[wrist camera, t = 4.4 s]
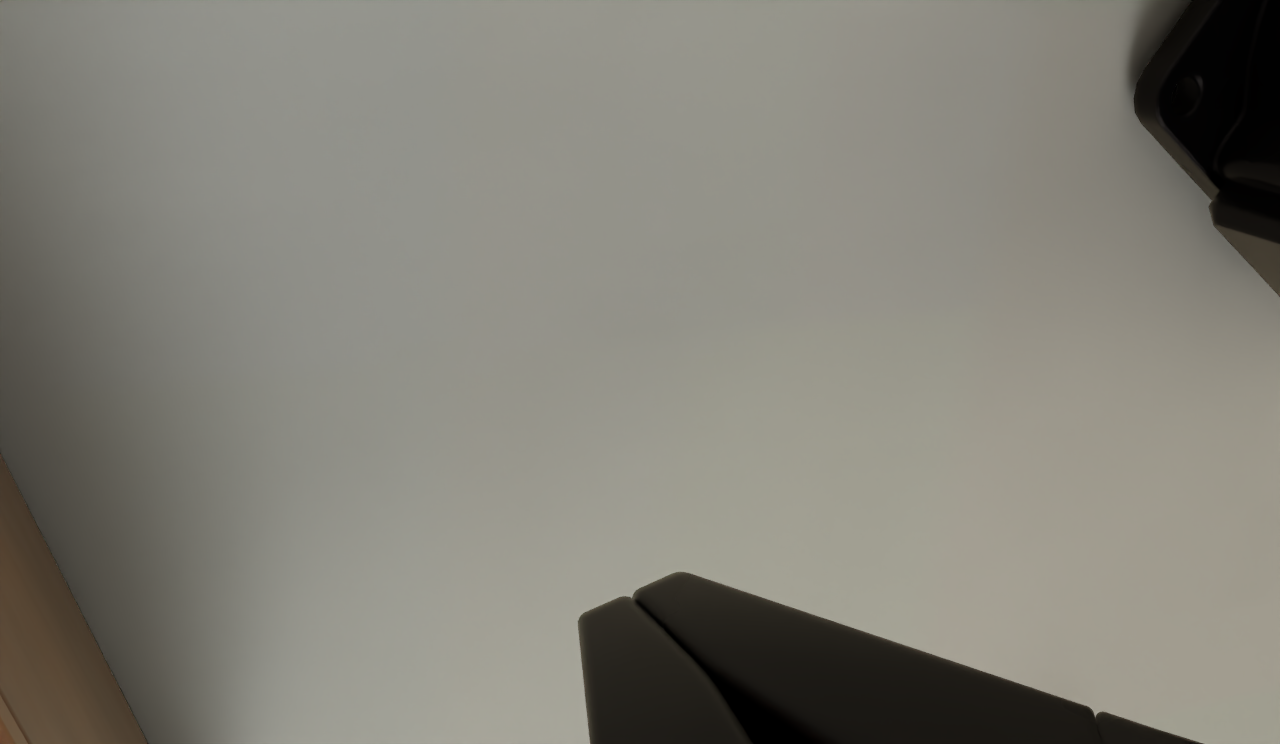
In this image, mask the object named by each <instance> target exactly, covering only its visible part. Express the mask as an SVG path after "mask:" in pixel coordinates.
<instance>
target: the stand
mask: <svg viewBox="0 0 1280 744" xmlns="http://www.w3.org/2000/svg"><path fill="white" fill-rule="evenodd" d="M0 744H148V743H147V741H146V739H145V737H144V735H143V733H142V731H141V729H140V727H139V725H138V723H137V721H136V719H135V717H134V715H133V714H132V712H131V710H130V708H129V706H128V704H127V702H126V700H125V698H124V696H123V694H122V692H121V690H120V688H119V686H118V684H117V682H116V680H115V678H114V676H113V674H112V672H111V670H110V668H109V666H108V664H107V662H106V660H105V658H104V656H103V654H102V653H101V651H100V649H99V647H98V645H97V643H96V641H95V639H94V637H93V635H92V633H91V631H90V629H89V627H88V625H87V623H86V621H85V619H84V617H83V615H82V613H81V611H80V609H79V607H78V605H77V603H76V601H75V599H74V597H73V595H72V593H71V592H70V590H69V588H68V586H67V584H66V582H65V580H64V578H63V576H62V574H61V572H60V570H59V568H58V566H57V564H56V562H55V560H54V558H53V556H52V554H51V552H50V550H49V548H48V546H47V544H46V542H45V540H44V538H43V536H42V534H41V532H40V531H39V529H38V527H37V525H36V523H35V521H34V519H33V517H32V515H31V513H30V511H29V509H28V507H27V505H26V503H25V501H24V499H23V497H22V495H21V493H20V491H19V489H18V487H17V485H16V483H15V481H14V479H13V477H12V475H11V473H10V471H9V470H8V468H7V466H6V464H5V462H4V460H3V458H2V456H1V454H0Z"/></svg>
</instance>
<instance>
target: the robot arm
mask: <svg viewBox="0 0 1280 744" xmlns="http://www.w3.org/2000/svg"><path fill="white" fill-rule="evenodd" d="M1177 84H1178V87H1177V94H1176V96H1175V98H1174V100H1173V102H1172V103H1171V101H1172V93H1173V91H1174V89H1175V87H1176V85H1177ZM1134 107H1135V113H1136V115H1137V117H1138V119H1139V121H1140V122H1141V124H1142V125H1143V126H1144V127H1145V128H1146V129H1147V130H1148V131H1149V132H1150V133H1151V135H1152V136H1153V137H1154V138H1155V139H1156V140H1157V141H1158V142H1159V143H1160V144H1161V145H1162V147H1163V148H1164V149H1165V150H1166V151H1167V152H1168V153H1169V154H1170V155H1171V156H1172V158H1173V159H1174V160H1175V161H1176V162H1177V163H1178V164H1179V165H1180V166H1181V167H1182V168H1183V170H1184V171H1185V172H1186V173H1187V174H1188V175H1189V176H1190V177H1191V178H1192V179H1193V180H1194V182H1195V183H1196V184H1197V185H1198V186H1199V187H1200V188H1201V189H1202V190H1203V191H1204V192H1205V194H1206V195H1207V196H1208V197H1209V198H1210V199H1211V200H1212V202H1211V203H1210V205H1209V209H1210V213H1211V217H1212V221H1213V225H1214V227H1215V228H1216V229H1217V230H1218V231H1219V232H1220V233H1221V234H1222V235H1223V236H1224V237H1225V238H1226V239H1227V240H1228V242H1229V243H1230V244H1231V245H1232V246H1233V247H1234V248H1235V249H1236V250H1237V251H1238V252H1239V253H1240V254H1241V255H1242V257H1243V258H1244V259H1245V260H1246V261H1247V262H1248V263H1249V264H1250V265H1251V266H1252V267H1253V268H1254V269H1255V271H1256V272H1257V273H1258V274H1259V275H1260V276H1261V277H1262V278H1263V279H1264V280H1265V281H1266V282H1267V283H1268V284H1269V286H1270V287H1271V288H1272V289H1273V290H1274V291H1275V292H1276V293H1277V294H1278V295H1279V296H1280V0H1193V1H1192V2H1191V4H1190V5H1189V6H1188V8H1187V9H1186V11H1185V12H1184V13H1183V15H1182V16H1181V18H1180V19H1179V21H1178V22H1177V23H1176V25H1175V26H1174V28H1173V29H1172V30H1171V32H1170V33H1169V35H1168V36H1167V38H1166V39H1165V40H1164V42H1163V43H1162V45H1161V46H1160V48H1159V49H1158V50H1157V52H1156V53H1155V55H1154V56H1153V57H1152V59H1151V60H1150V62H1149V63H1148V65H1147V66H1146V67H1145V69H1144V70H1143V72H1142V74H1141V76H1140V78H1139V80H1138V82H1137V85H1136V90H1135V95H1134ZM578 630H579V640H580V649H581V659H582V669H583V679H584V688H585V698H586V708H587V718H588V727H589V737H590V744H1203V743H1199V742H1196V741H1193V740H1190V739H1187V738H1183V737H1180V736H1177V735H1174V734H1170V733H1167V732H1164V731H1161V730H1157V729H1154V728H1151V727H1148V726H1145V725H1142V724H1139V723H1136V722H1133V721H1130V720H1127V719H1124V718H1121V717H1118V716H1115V715H1112V714H1110V713H1107V712H1099V713H1098V714H1097V715H1096V718H1095V716H1094V712H1093V711H1092V709H1091V708H1089V707H1087V706H1084V705H1081V704H1078V703H1075V702H1072V701H1069V700H1066V699H1063V698H1060V697H1057V696H1054V695H1051V694H1048V693H1045V692H1042V691H1040V690H1037V689H1034V688H1031V687H1028V686H1025V685H1022V684H1019V683H1016V682H1013V681H1010V680H1007V679H1004V678H1001V677H998V676H995V675H992V674H989V673H986V672H983V671H980V670H977V669H974V668H971V667H968V666H965V665H962V664H959V663H956V662H953V661H950V660H947V659H944V658H941V657H938V656H935V655H932V654H929V653H926V652H923V651H920V650H917V649H914V648H911V647H908V646H905V645H902V644H899V643H896V642H893V641H890V640H887V639H884V638H881V637H878V636H875V635H872V634H869V633H866V632H863V631H860V630H857V629H854V628H851V627H848V626H845V625H842V624H839V623H836V622H833V621H830V620H827V619H824V618H821V617H818V616H815V615H812V614H809V613H806V612H803V611H800V610H797V609H794V608H791V607H788V606H785V605H782V604H779V603H776V602H773V601H770V600H768V599H765V598H762V597H759V596H756V595H753V594H750V593H747V592H744V591H741V590H738V589H735V588H732V587H729V586H726V585H723V584H720V583H717V582H714V581H711V580H708V579H705V578H702V577H699V576H696V575H693V574H690V573H686V572H676V573H673V574H671V575H668V576H666V577H664V578H662V579H659V580H657V581H655V582H653V583H650V584H648V585H646V586H644V587H641V588H639V589H638V590H636V591H635V593H634V594H633V597H632V598H630V597H626V596H624V597H619V598H617V599H614V600H612V601H610V602H607V603H605V604H603V605H601V606H598V607H596V608H594V609H592V610H589V611H587V612H585V613H583V614H582V615H581V616H580V618H579V620H578Z"/></svg>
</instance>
